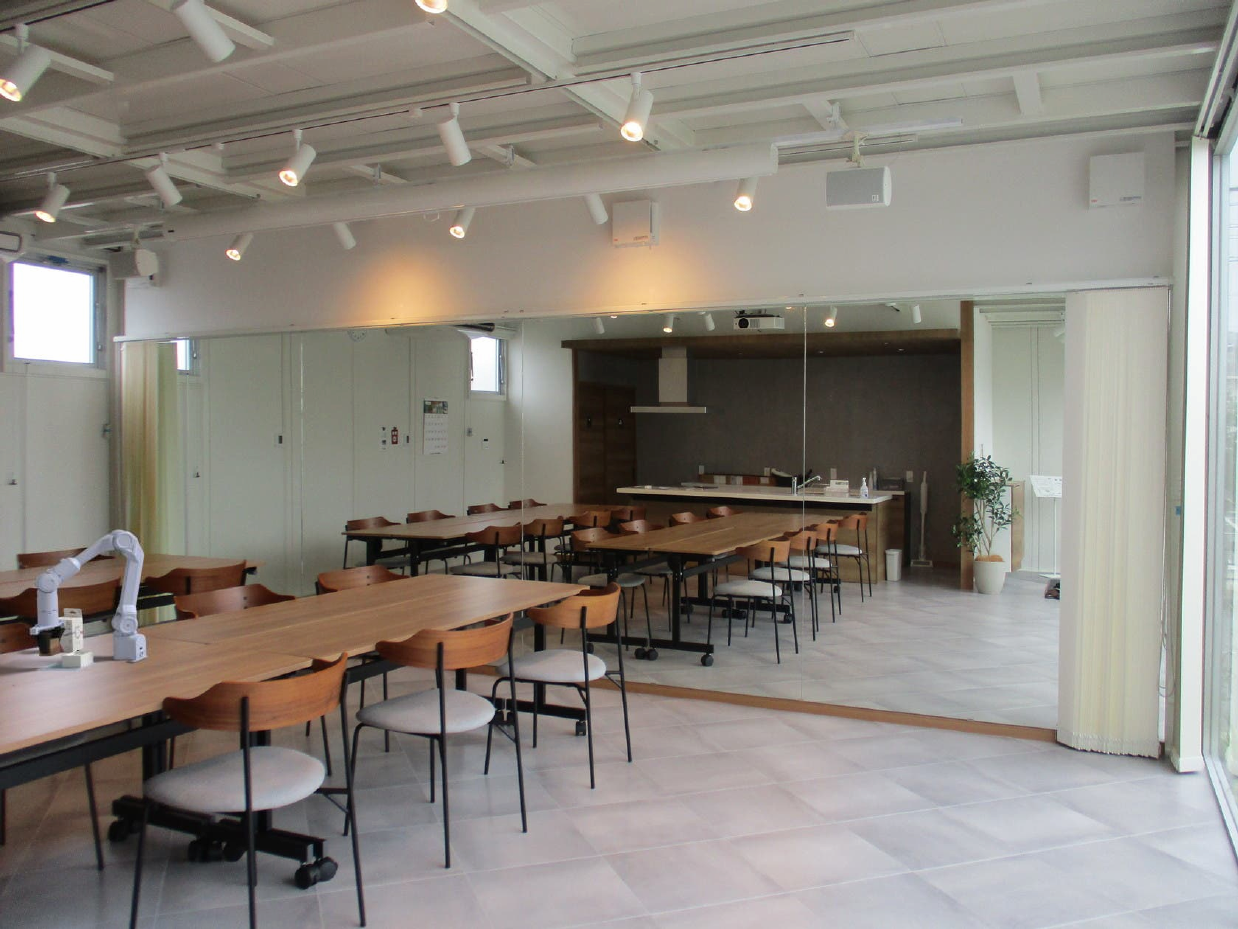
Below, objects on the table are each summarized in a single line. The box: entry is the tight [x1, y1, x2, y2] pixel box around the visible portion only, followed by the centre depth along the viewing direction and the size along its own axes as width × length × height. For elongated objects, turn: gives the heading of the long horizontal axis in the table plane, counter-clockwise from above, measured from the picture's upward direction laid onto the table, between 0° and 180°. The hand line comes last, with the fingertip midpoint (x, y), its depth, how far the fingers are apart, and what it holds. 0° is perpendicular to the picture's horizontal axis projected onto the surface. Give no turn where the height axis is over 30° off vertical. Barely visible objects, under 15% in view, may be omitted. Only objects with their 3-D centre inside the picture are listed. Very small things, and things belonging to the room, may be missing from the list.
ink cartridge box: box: [58, 607, 84, 653], centre depth 332 cm, size 9×5×15 cm, turn 74°
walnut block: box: [38, 638, 60, 657], centre depth 302 cm, size 4×4×5 cm
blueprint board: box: [34, 650, 98, 672], centre depth 304 cm, size 14×11×5 cm
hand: (49, 652), depth 302 cm, fingers closed on walnut block, 4 cm apart
